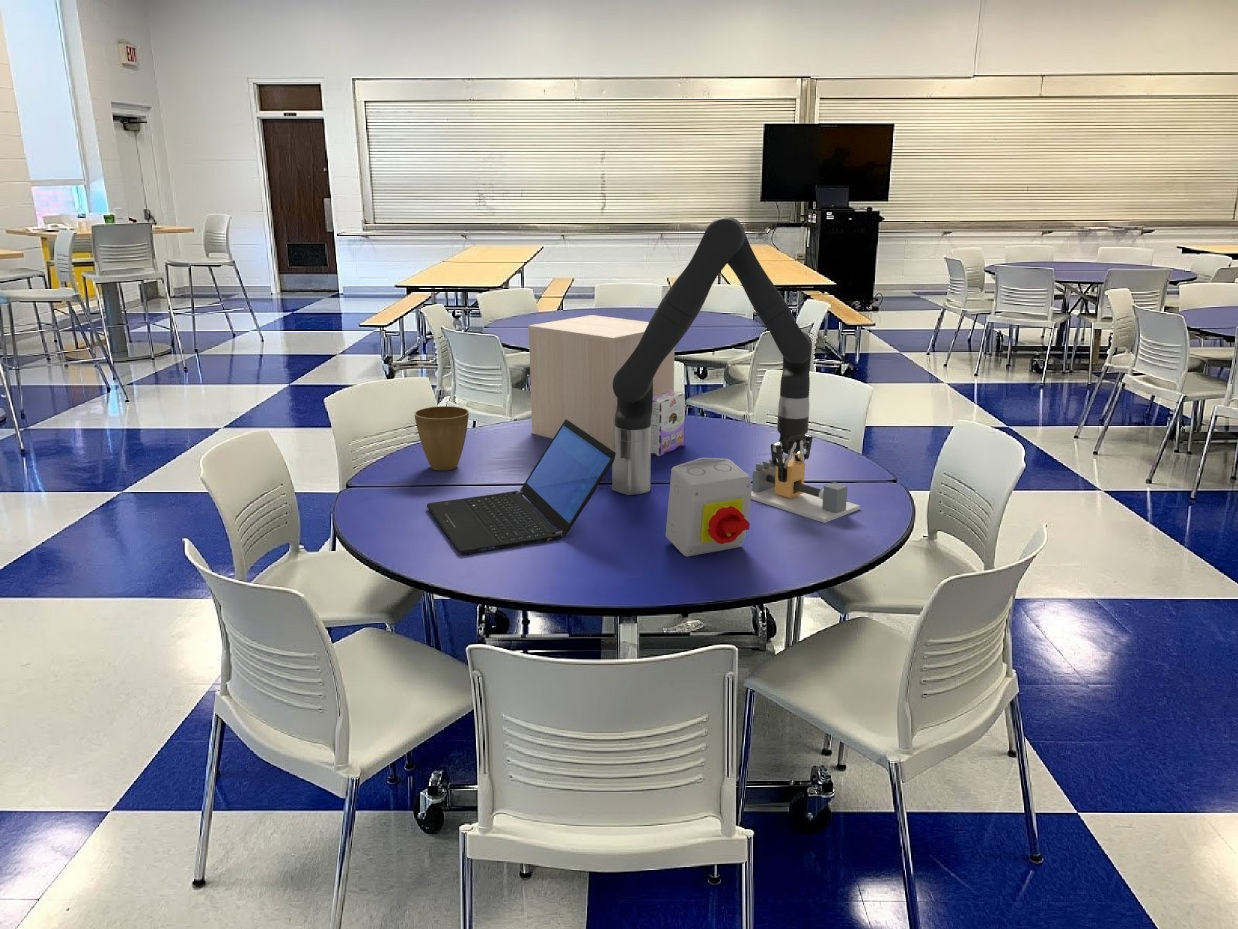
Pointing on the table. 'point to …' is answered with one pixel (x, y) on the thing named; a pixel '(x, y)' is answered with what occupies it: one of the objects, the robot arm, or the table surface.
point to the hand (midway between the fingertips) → (789, 478)
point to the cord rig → (801, 496)
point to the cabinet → (584, 373)
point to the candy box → (667, 422)
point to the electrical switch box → (708, 506)
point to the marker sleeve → (790, 479)
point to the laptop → (531, 498)
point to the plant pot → (442, 435)
